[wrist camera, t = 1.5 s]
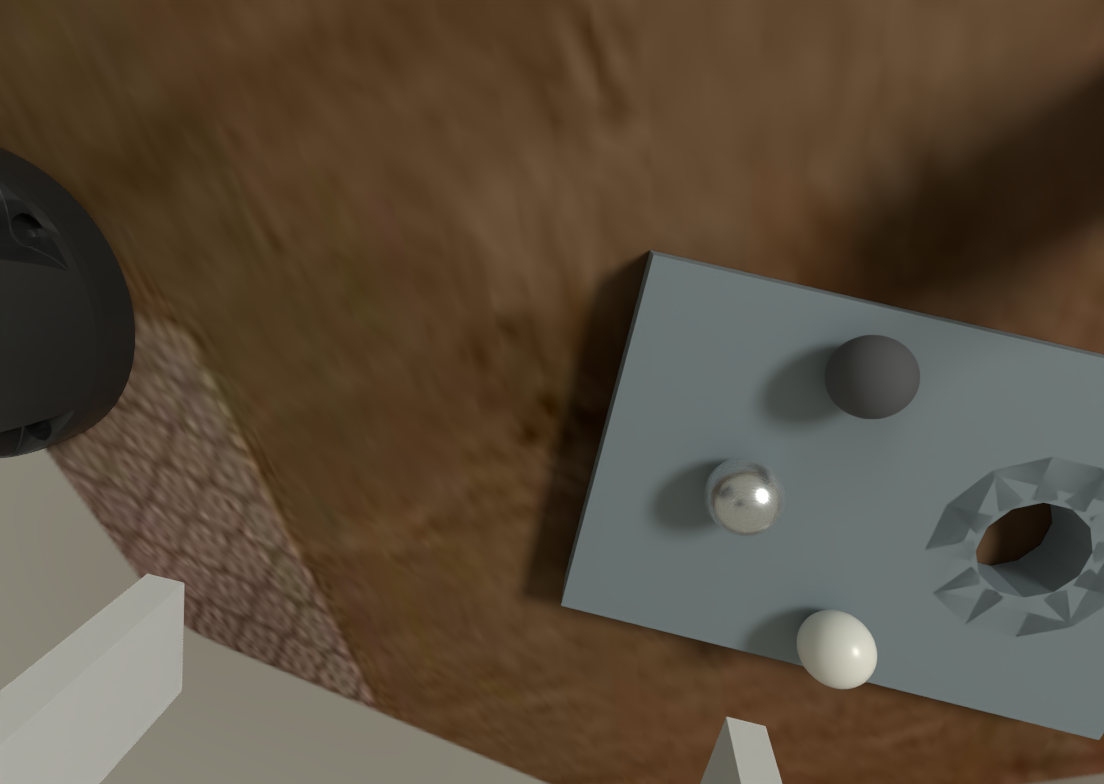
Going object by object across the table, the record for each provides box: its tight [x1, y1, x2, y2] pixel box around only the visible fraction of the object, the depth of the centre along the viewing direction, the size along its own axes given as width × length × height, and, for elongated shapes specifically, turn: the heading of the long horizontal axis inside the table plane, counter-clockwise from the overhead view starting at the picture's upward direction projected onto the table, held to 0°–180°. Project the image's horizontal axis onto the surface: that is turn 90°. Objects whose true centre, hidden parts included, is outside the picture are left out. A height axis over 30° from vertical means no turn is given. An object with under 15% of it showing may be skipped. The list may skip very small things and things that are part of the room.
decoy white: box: [797, 610, 877, 689], centre depth 26 cm, size 3×3×3 cm
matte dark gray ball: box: [825, 335, 920, 419], centre depth 23 cm, size 3×3×3 cm
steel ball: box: [704, 458, 786, 537], centre depth 25 cm, size 3×3×3 cm
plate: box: [561, 250, 1104, 740], centre depth 27 cm, size 26×17×2 cm, turn 78°
